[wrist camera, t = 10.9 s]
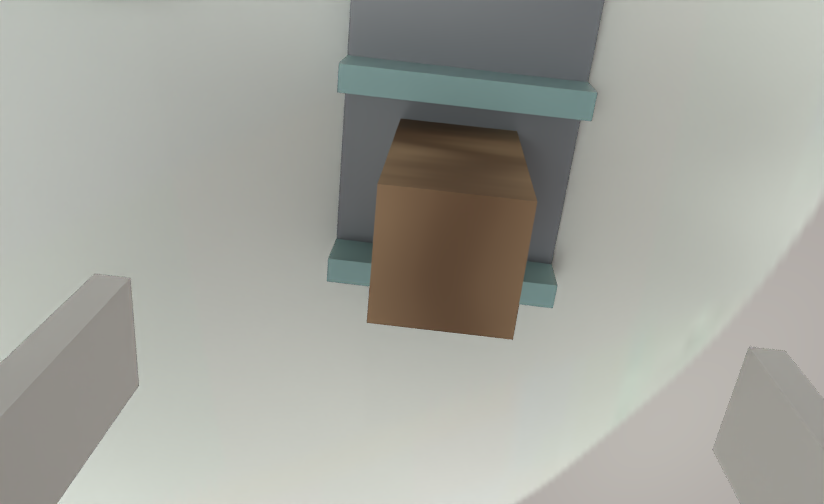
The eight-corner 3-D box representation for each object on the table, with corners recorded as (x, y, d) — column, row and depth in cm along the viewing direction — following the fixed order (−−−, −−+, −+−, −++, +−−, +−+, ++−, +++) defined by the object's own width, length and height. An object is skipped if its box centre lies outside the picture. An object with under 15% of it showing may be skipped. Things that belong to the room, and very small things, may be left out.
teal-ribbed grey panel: (337, 254, 30) (326, 281, 28) (363, -175, 23) (352, -189, 21) (545, 279, 30) (552, 308, 27) (630, -147, 23) (649, -157, 21)
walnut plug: (391, 226, 29) (366, 322, 21) (400, 118, 27) (377, 183, 20) (500, 238, 29) (512, 339, 21) (516, 131, 27) (537, 201, 19)
